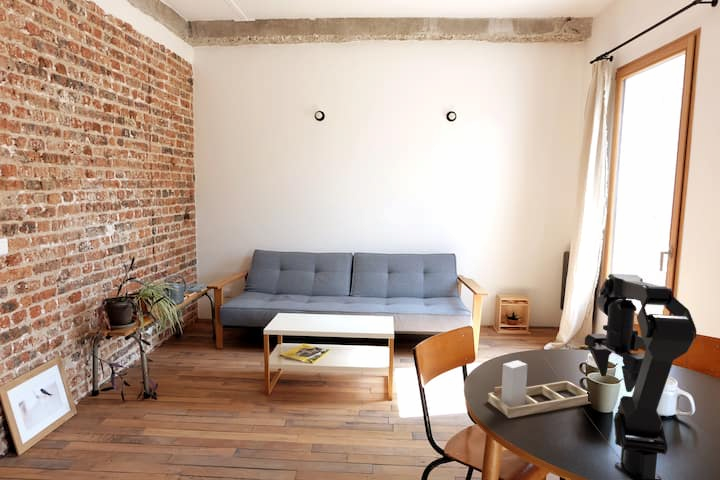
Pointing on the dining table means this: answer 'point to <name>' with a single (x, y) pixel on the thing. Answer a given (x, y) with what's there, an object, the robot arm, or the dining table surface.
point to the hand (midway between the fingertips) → (615, 383)
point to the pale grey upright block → (514, 383)
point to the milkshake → (591, 360)
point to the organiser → (535, 407)
